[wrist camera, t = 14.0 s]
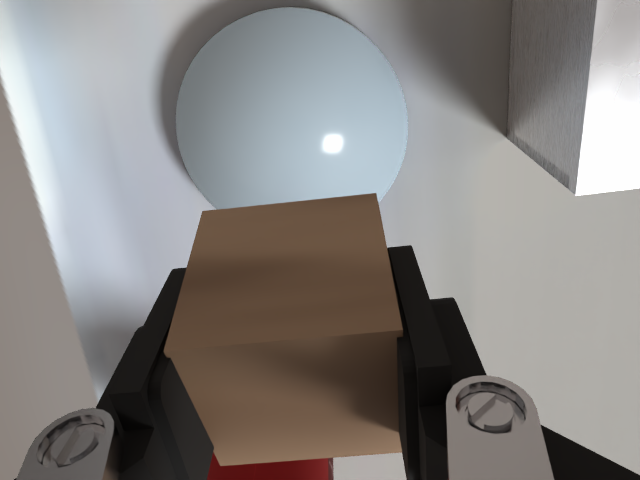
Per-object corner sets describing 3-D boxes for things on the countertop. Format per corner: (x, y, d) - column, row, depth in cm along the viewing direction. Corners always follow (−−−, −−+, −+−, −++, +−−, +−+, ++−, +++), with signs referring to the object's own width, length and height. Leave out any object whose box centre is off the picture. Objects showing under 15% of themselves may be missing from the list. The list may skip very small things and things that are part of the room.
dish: (431, 186, 26) (436, 194, 25) (243, 255, 28) (240, 266, 27) (359, -37, 21) (360, -38, 20) (139, 65, 23) (130, 69, 22)
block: (382, 312, 14) (404, 452, 11) (239, 325, 14) (220, 466, 11) (376, 193, 11) (402, 329, 8) (202, 211, 11) (163, 351, 8)
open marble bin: (651, 119, 24) (778, 171, 18) (506, 138, 25) (576, 195, 18) (679, -43, 21) (847, -57, 14) (512, -19, 22) (599, -21, 15)
